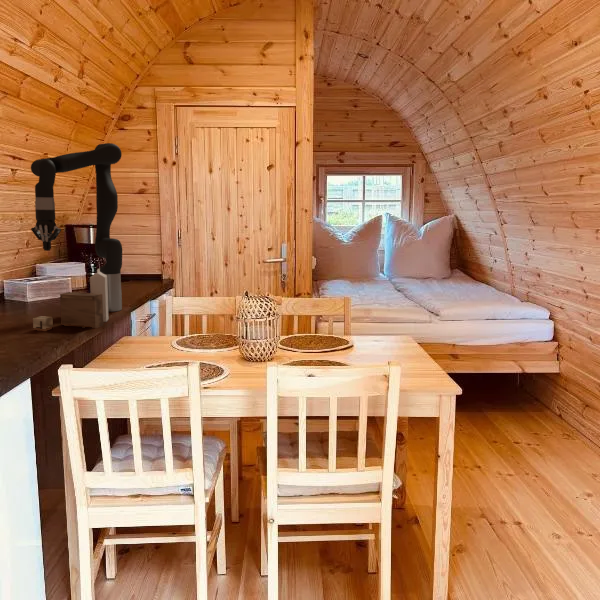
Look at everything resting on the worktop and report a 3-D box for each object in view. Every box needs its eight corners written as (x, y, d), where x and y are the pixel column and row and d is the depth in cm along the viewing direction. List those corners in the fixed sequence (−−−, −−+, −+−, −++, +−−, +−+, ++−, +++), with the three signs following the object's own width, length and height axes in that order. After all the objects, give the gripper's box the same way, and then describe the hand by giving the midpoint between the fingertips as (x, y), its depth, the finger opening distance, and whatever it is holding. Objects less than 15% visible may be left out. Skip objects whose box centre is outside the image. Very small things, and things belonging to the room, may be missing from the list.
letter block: (41, 328, 233) (40, 316, 232) (53, 329, 232) (52, 316, 231) (33, 331, 228) (32, 318, 227) (44, 332, 227) (44, 319, 226)
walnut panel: (69, 323, 244) (68, 292, 242) (103, 325, 241) (102, 293, 239) (61, 326, 238) (59, 294, 236) (95, 328, 235) (94, 296, 233)
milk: (108, 319, 254) (107, 268, 250) (106, 322, 248) (105, 269, 244) (93, 319, 253) (92, 267, 249) (91, 322, 247) (89, 269, 243)
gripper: (64, 209, 247) (66, 250, 250) (36, 208, 250) (38, 249, 253) (54, 209, 240) (56, 251, 243) (25, 208, 243) (27, 250, 245)
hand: (47, 250), depth 248 cm, fingers closed
